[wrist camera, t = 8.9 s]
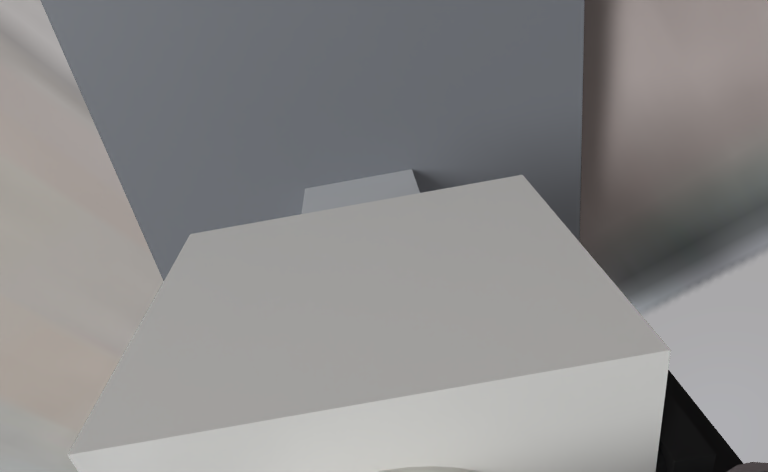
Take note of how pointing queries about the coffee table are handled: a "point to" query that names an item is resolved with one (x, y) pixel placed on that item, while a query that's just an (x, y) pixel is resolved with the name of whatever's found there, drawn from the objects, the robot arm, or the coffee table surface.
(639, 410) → the knob
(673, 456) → the robot arm
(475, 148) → the flat gray board
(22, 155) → the coffee table surface
